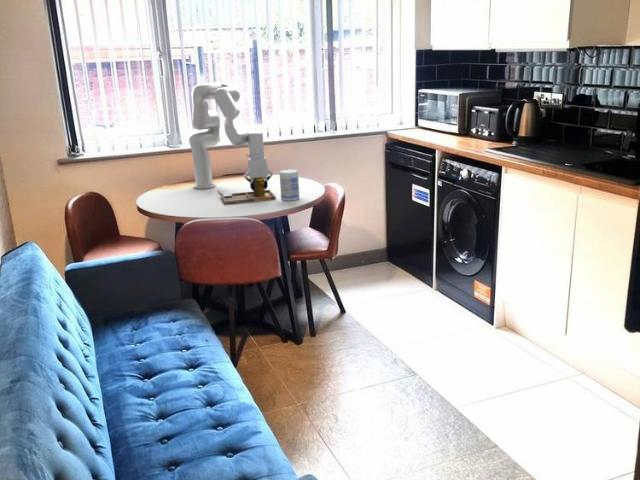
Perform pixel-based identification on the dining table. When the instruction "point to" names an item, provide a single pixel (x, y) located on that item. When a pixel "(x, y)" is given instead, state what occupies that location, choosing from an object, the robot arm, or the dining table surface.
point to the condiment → (258, 188)
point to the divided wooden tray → (247, 197)
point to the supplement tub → (289, 185)
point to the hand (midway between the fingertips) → (259, 189)
